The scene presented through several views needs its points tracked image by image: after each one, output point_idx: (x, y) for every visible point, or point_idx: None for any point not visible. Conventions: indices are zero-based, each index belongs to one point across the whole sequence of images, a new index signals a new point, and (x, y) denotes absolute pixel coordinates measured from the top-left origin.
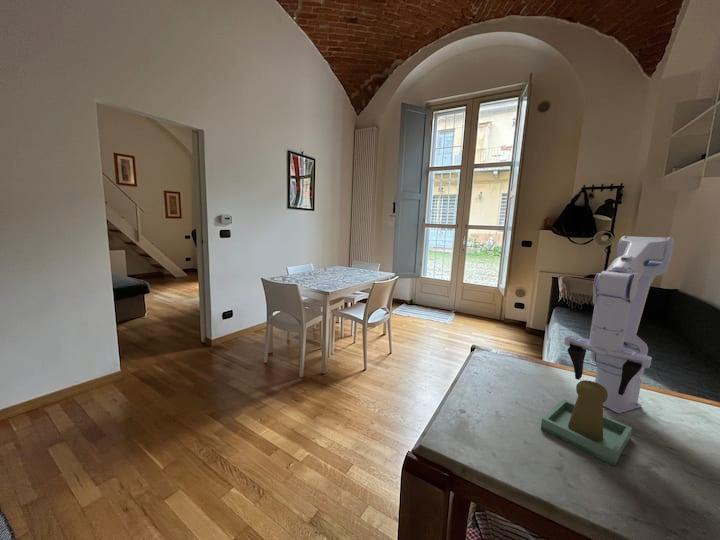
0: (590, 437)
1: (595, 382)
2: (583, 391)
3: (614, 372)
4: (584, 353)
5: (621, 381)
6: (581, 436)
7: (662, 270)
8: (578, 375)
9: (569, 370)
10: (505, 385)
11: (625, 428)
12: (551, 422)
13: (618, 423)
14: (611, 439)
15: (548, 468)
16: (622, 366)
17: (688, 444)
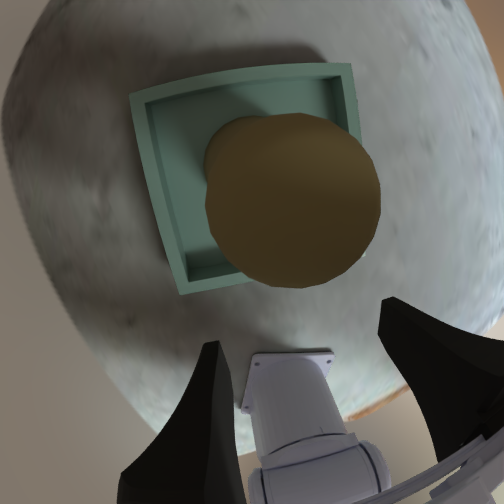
0: (221, 128)
1: (313, 278)
2: (315, 116)
3: (303, 445)
4: (439, 429)
5: (209, 394)
6: (229, 76)
7: None
8: (397, 308)
9: (380, 401)
10: (467, 206)
11: (185, 272)
12: (323, 64)
13: (208, 280)
14: (192, 202)
15: None
16: (203, 493)
17: (130, 363)
